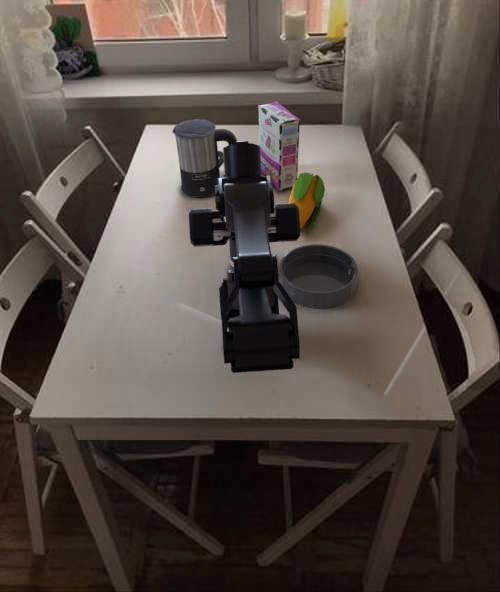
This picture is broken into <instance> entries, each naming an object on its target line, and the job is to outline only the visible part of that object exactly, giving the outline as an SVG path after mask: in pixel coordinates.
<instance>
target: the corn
mask: <svg viewBox="0 0 500 592" xmlns="http://www.w3.org/2000/svg"><path fill="white" fill-rule="evenodd" d="M314 174H315V173H313V172H306V171H305V172H300V173H299V174H298V176H297V179H296V180H295V183H294V185H293V188H291V190H290V195H289V197H288V201H287V204H292V203H295V204H296V205H297V206H298V207H299V217H300V229H302V228H303V227H304V225H305V224H306V223H307V221H308V220H309V219H310V217H311V216H312V214H313V216H312V218H311V220H310V223H309V225H308V227H307V229H306V233H309V232H310V230H311V229H312V227H313V225H314V223H315V221H316V220H317V217H318V216H319V213H320V209H321V206H322V202H323V198H324V196H325V191H326V187H325V183H324V181H323V179H322V177H320V175H318V174H316V175H314ZM314 210H315V211H314ZM313 212H314V213H313Z"/></svg>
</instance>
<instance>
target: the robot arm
mask: <svg viewBox="0 0 500 592" xmlns="http://www.w3.org/2000/svg"><path fill="white" fill-rule="evenodd" d="M222 152H223V156H224V162H223V171H224V174H223V176H221V177H220V178H217V179H216V182H217V185H215V193H214V198H215V200H214V201H215V202H214V203H215V211H214V210H213V209H212V207H210V208H208V207H207V208H206V207H205V208H192V209H191V210H190V211H189V212H188V227H189V240H190V244H191V245H192V246H193V248H201V247H203V248H204V247H216V246H226V244H227V243H228V242H229V236H231V240H232V241H236V251H237V257H233V263H234V267H231V266H229V267H227V268H228V270H227V271H226V277H223V278H222V282H221V285H220V286H219V287H218V293H219V294H218V295H219V310H220V311H219V312H220V320H221V333H222V352H223V363H224V364H230V371H231V373H232V374H238V373H255V372H256V373H257V372H269V371H271V372H272V371H284V370H285V371H286V370H293V369H294V365H295V364H294V360H298V359H300V355H301V345H300V344H301V343H300V333H299V332H300V331H299V320H298V319H299V318H298V310H297V305H296V303H294V302H293V301H292V299H291V298H290V296H289V295H288V294H287V292H286V291H285V289H284V288H283V286H282V285H281V284H280V275H279V264H278V257H277V254H273V253H272V250H271V244H270V243H280V242H281V243H283V242H296V241H298V240H299V239H300V237H301V234H302V233H301V228H300V217H299V207H298V206H297V205H296V204H295V203H292V204H288V203H276V204H275V193H274V188H273V184H272V183H271V179H270V176H264V175H263V174H262V170H261V155H260V146H259V144H256V143H251V142H249V140H237V141H236V144H232V145H227V146H224V147H222ZM228 230H229V232H228ZM279 300H280V302H281V303H282V305H283V306H284V308H285V309H286V311H287V312H288V314H289V316H288V315H286V314H281V313H280V303H279Z"/></svg>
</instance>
